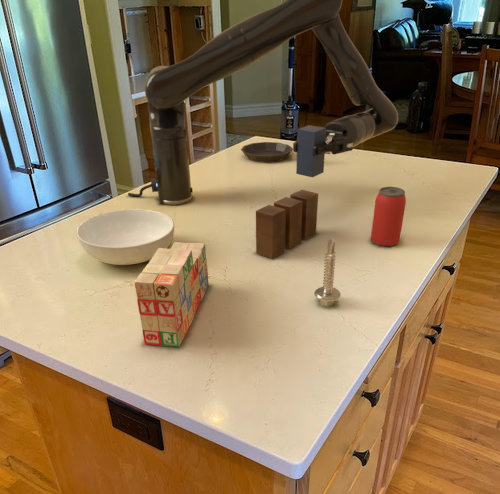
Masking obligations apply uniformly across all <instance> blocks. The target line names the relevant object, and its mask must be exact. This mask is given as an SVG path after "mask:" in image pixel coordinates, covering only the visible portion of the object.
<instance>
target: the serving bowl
mask: <svg viewBox="0 0 500 494" xmlns="http://www.w3.org/2000/svg"><path fill="white" fill-rule="evenodd" d="M174 234H175V222H174V219H172V218H171V216H169V215H167V214H166V213H163V212H160V211H157V210H154V209H153V210H152V209H147V208H146V209H144V208H126V209H117V210H111V211H105V212H102V213H99V214H97V215H93V216H92V217H89V218H88V219H86V220H84V221H82V222H81V223H80V224H79V225H78V226H77V228H76V237H77V240H78V242H79V245H80V246H81V247H82V249H83V250H84V251H85V252H86V254H88V255H89V256H90V257H91V258H93V259H95V260H97V261H99V262H102V263H105V264H109V265H116V266H117V265H120V266H126V265H135V264H140V263H145V262H149V261H150V260H151V259H152V257H153V256H154V254H155V253H156V251H157V250H158V248H165V249H169V246H170V245H171V243H172V241H173V239H174Z"/></svg>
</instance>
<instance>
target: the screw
mask: <svg viewBox="0 0 500 494" xmlns="http://www.w3.org/2000/svg"><path fill="white" fill-rule="evenodd" d="M326 245H327V247H326V253H325V256H324V258H325V259H324V268H323V270H324V271H323V273H324V274H323V280H322V281H323V282H322V284H323V285H322V286H320V287H318V288H317V289H315V290H314V293H313V294H314V297H315V298H316V299H317V300H319V304H320V305H321V306H324V307H331V306H334V301H337V300H339V299H340V298H341V296H342V295H341V291H340V290H339V289H337V288H336V287H334V280H335V278H334V277H335V266H336V251H335V249H336V248H335V247H336V241H335V240H334V239H328V240H327V244H326Z"/></svg>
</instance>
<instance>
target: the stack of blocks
mask: <svg viewBox="0 0 500 494" xmlns="http://www.w3.org/2000/svg"><path fill="white" fill-rule="evenodd" d="M206 250H207V249H206V243H199V242H198V243H197V242H181V241H180V242H179V241H177V242H176V241H174V242H173V244H172V246H171V247H170V248H167V249H165V248H158V250H157V251H156V253H155V254H154V256H153V257H152V259H151V260H149V261H148V263H147V264H146V265H145V267H144V268H143V269H142V272H140V273H139V274H138V276H137V278H136V279H135V280H134V289H135V293H136V300H137V307H138V312H139V316H140V322H141V329H142V330H141V331H142V336H143V344H144V345H147V346H150V345H151V346H160V347H161V346H162V347H172V348H180V346H181V344H182V342H183V340H184V338H185V337H186V336H187V333H188V331H189V328H190V326H191V324H192V323H193V320H194V317H195V315H196V312H197V311H198V308H199V306H200V304H201V301H203V299H204V296H205V295H206V292H207V290H208V288H209V284H210V283H209V272H208V269H209V267H208V258H207V251H206Z"/></svg>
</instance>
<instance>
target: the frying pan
mask: <svg viewBox="0 0 500 494" xmlns="http://www.w3.org/2000/svg"><path fill="white" fill-rule="evenodd" d="M240 150H241V152H242V153H243V155H244V156H245V158H247V159H248V160H249V161H252V162H257V163H275V162H276V163H277V162H279V161H284V160H286V159H288V157H289V156H290V155H291V153H292V152H293V146H291V145H289V144H287V143H282V142H276V141H275V142H274V141H260V142H252V143H249V144H245V145H243V146H242V147H241V149H240ZM331 154H332V153H328V154H327V155H331Z"/></svg>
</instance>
